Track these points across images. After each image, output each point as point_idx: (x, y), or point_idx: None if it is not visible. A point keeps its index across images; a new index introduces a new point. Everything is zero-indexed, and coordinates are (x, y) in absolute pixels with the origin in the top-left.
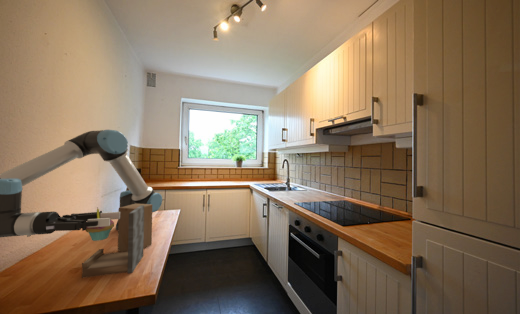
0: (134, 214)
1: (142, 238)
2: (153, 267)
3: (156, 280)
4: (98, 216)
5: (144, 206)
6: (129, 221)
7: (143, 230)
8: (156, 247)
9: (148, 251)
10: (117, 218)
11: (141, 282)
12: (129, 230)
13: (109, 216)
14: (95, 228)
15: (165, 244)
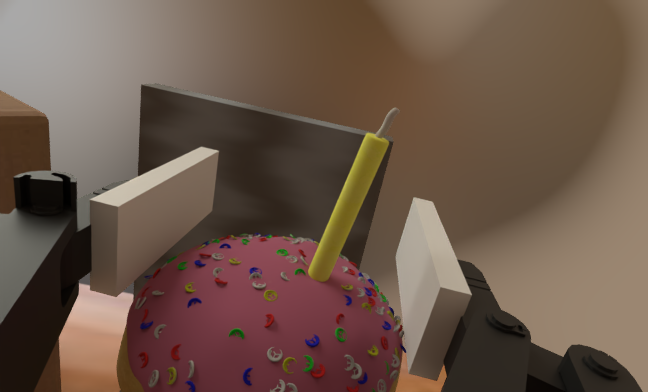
0: None
1: None
2: None
3: (402, 351)
4: (351, 224)
5: (4, 93)
6: (378, 192)
7: None
8: (78, 318)
9: (99, 349)
10: (207, 210)
11: (405, 389)
12: (365, 243)
13: (176, 213)
14: (401, 339)
15: (79, 289)
